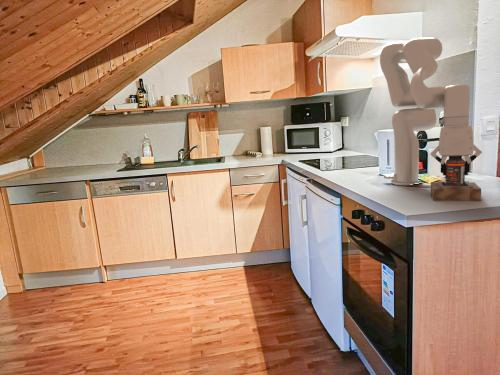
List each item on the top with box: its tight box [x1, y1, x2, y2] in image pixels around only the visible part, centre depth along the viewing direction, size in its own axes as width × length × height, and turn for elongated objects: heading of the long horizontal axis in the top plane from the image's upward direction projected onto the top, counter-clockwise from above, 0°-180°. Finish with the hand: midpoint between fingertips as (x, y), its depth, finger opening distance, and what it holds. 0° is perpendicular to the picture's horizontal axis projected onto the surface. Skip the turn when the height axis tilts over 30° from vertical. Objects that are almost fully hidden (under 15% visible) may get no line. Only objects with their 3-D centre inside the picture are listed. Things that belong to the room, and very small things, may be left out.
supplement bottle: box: [444, 156, 466, 186], centre depth 124 cm, size 6×6×11 cm
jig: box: [430, 180, 482, 202], centre depth 125 cm, size 14×12×5 cm
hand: (454, 174), depth 124 cm, fingers closed on supplement bottle, 6 cm apart
